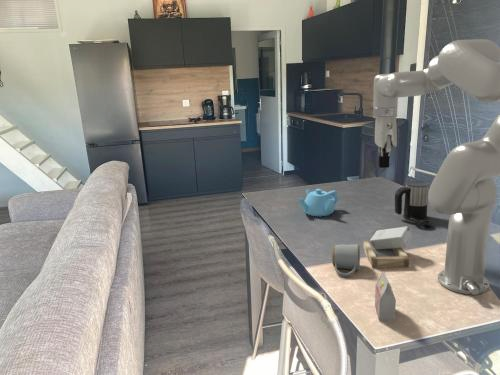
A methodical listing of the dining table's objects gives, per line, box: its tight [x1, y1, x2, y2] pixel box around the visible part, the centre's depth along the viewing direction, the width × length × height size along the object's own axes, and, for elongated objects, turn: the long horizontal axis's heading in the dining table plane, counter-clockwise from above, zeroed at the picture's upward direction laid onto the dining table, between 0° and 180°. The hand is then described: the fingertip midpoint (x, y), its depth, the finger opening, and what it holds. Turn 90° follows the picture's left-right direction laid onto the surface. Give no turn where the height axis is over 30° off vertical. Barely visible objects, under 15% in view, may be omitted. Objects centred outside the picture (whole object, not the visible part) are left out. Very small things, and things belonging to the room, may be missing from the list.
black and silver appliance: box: [394, 180, 433, 228], centre depth 152 cm, size 14×16×15 cm
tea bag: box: [374, 270, 397, 323], centre depth 95 cm, size 4×7×10 cm, turn 170°
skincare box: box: [369, 225, 414, 250], centre depth 128 cm, size 6×4×12 cm
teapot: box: [297, 188, 339, 218], centre depth 169 cm, size 15×15×11 cm
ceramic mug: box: [331, 243, 361, 278], centre depth 118 cm, size 11×8×8 cm
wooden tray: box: [362, 240, 410, 269], centre depth 125 cm, size 14×11×3 cm
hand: (383, 167), depth 131 cm, fingers closed
